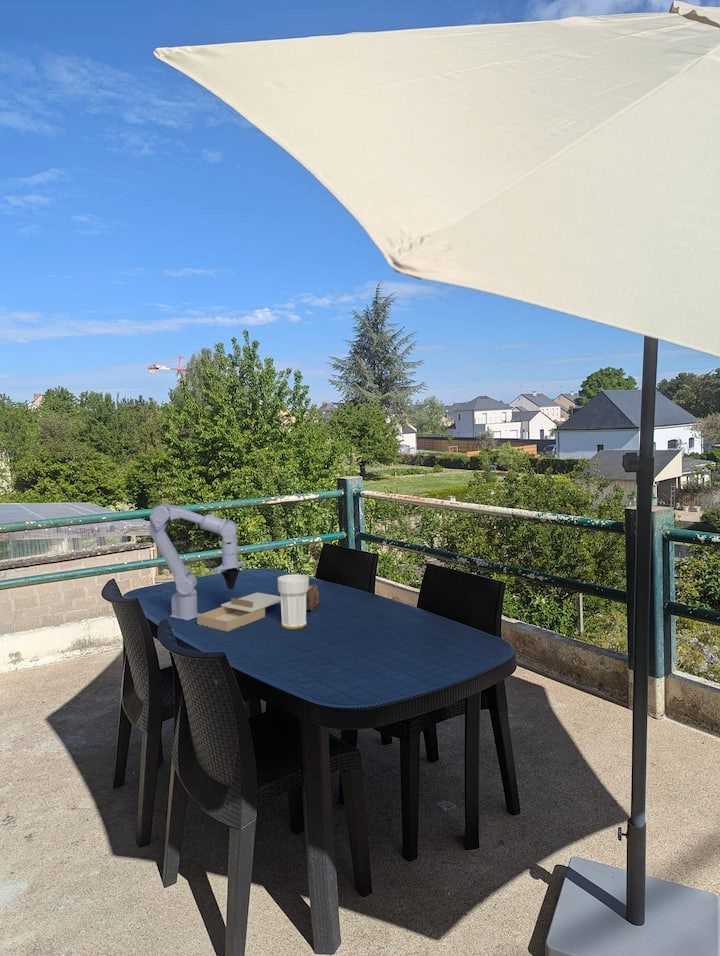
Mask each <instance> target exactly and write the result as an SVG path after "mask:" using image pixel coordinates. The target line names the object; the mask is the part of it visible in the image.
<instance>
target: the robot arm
mask: <svg viewBox="0 0 720 956" xmlns="http://www.w3.org/2000/svg"><path fill="white" fill-rule="evenodd" d="M176 519H182V520H185V521H189V522H192V523H196V524H199V525H200V526H201V528H202V529H204V530H206V531H209V532H212V533H215V534H217V535H218V534H219V535H220V536H221V556H222V557H221V561H222V562H221V563H222V564H221V565H218V566H217V567H214V571H213V572H214V574H217V575H218V574H221V575H222V576H223V578H224V580H225V583H226V586H227V587H226V588H227V589H229V590H233V589H234V588H235V585H236V581H237V578H238V576H239V573H240V568H242V567H243V568H245V567H246V561H245V560H240V561H238V560H239V559H238V536H237V531H238V524H237V522H235V521H233V520H232V519H231V520H230V519H227V518H226V517H224V518H220V517H218V516H216V515H215V514H214V513H210V514H209V513H208V514H205V515H201V514H199V513H197V512H194V511H192V510H189V509H186V508H184V507H181V506H179V505H175V504H171V503H168V502H164V503H161V504H159V505H157V506H155V507H154V508H153V509H152V511H151V512H150V515H149V534H150V537H151V539H153V542H154V543H155V545H156V547H157V549H158V550H159V552H160V554H161V555H162V558H163V559H164V561H165V562H166V564H167V566H168V568H169V570H170V572H171V573H172V576H173V581H174V583H175V590H176V592H175V593H173V595H172V596H171V614H170V615H169V617H170V618H173V619H178V620H182V619H183V621H190V620H192V619H197V615H200V614H201V613H199V612H198V594H197V593H198V592H197V590H196V589H195V588H196V586H197V584H198V583H197V582H198V580H197V577H196V576H195V575H194V574H193V573H191V571H190V569H188V568H187V567H186V565H184V562H183V560H182V559H181V557H180V555H179V554H178V552H177V550H176V548H175V546H174V545H173V543H172V541H171V539H170V538H169V535H168V534H167V532H166V528H167V525H168V523H169V521H172V520H176Z"/></svg>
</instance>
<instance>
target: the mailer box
mask: <svg viewBox="0 0 720 956" xmlns="http://www.w3.org/2000/svg"><path fill="white" fill-rule="evenodd" d="M263 618H266V607H265V608H262V609H259V610H257V611H254V612H248V611H243V610H238V609H233V608H228V607H223V606H220V607H218V608H217V607H216V608H215V609H212V610H208V611H206V612H203V613H200V615H197V617H196V622H197V624H199V625H198V626H201V625H204V626H203V627H205V626H208V627H207V628H210V627H211V629H214V628H215V629H214V630H218V629H219V631H223V632H230V631H233V630H235V629H238V628H241V627H242V626H245V625H249V624H251V623H253V622H255V621H258V620H261V619H263ZM240 626H241V627H240Z"/></svg>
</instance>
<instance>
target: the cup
mask: <svg viewBox="0 0 720 956" xmlns="http://www.w3.org/2000/svg"><path fill="white" fill-rule="evenodd" d="M309 586H310V577H309V576H308V575H306V574H299V573H297V574H296V573H295V574H294V573H293V574H285V575H281V576H278V577H277V591H278V592H279V595H280V597H281V602H280V611H281V613H280V614H281V627H282V628H284V629H288V630H296V629H297V630H298V628H299V629H303V628H304V626H305V627H307V624H308V623H307V610H306V592H307V591H308V590H309ZM302 627H303V628H302Z"/></svg>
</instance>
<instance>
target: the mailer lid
mask: <svg viewBox="0 0 720 956" xmlns="http://www.w3.org/2000/svg"><path fill="white" fill-rule="evenodd" d="M278 603H281V597H280V596H279V595H273V594H270V593H269V594H268V593H263V592H258V591H257V592H254V593H251V594H248V595H246V596H242V597H239V598H234V597H232V598H230V601H227V602H225V603H222V604H220V607H228V608H233V609H238V610H243V611H248V612H254V611H257V610H259V609H262V608H265V609H266V608H267V607H270V606H272V605H274V604H278Z"/></svg>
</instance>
